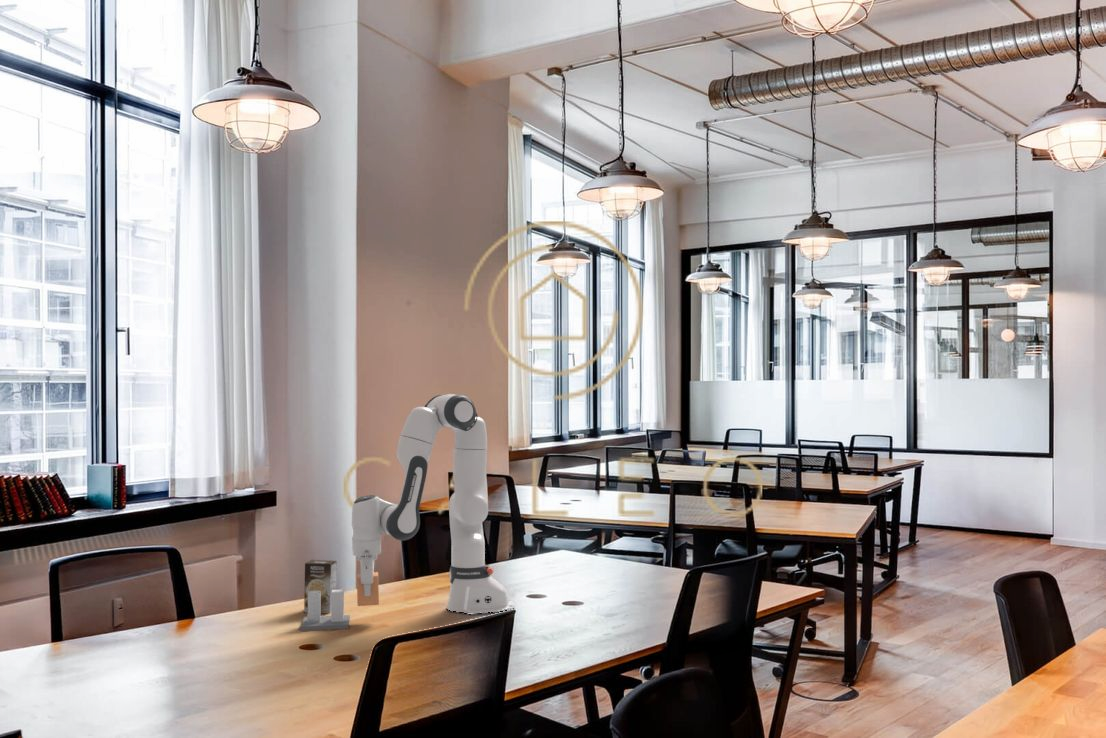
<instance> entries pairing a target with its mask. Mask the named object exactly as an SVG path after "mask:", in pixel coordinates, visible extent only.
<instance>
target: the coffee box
mask: <svg viewBox="0 0 1106 738" xmlns="http://www.w3.org/2000/svg"><path fill="white" fill-rule="evenodd" d="M337 562H338V561H337V560H325V559H323V560H322V559H310V560H308V561H307V562H305V563H304V592H303V593H304V597H303V603H304V604H303V612H304V613H308V592H309V591H316V590H321V614H331V592H332V590H337V567H338V563H337Z"/></svg>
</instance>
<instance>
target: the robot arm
mask: <svg viewBox="0 0 1106 738" xmlns="http://www.w3.org/2000/svg"><path fill="white" fill-rule="evenodd" d="M476 409H477V408H476V407H475V404H474V402H473V401H472V399H470V398H469V397H467V396H465V395H462V394H453V393H447V394H441V395H440V394H439V395H435V396H433V397H431V398H430V399H429V400H428V401H427V403H426V404H425V405H424V406H417V407H414V408H412V410H411V411H410V413H409V414H408V416H407V417H406V420H405V422H404V425H403V427H402V430H401V433H400V436H399V439H398V444H397V449H396V457H397V460H398V461H399V463H400V465H401V467H402V469H403V472H404V480H403V483H402V489H401V492H400V493H401V494H400V497H399V502H398V503H397V504H396V503H393V502H389V501H386V500H385V499H382V498H380V497H379V496H378V495H375V494H369V495H364V496H360V497H358V498H357V499H355V501H353V503H352V510H351V527H352V531H353V533H352V536H351V537H352V538H351V544H352V547H351V549H352V550H351V551H352V552H351V553H352V556H355V557H356V561H359V563H360V566H359V567H360V573H361V584H364V592H365V596H370V595H371V584H372V583H373V572H375V571H374V570H375V562H376V561H375V560H377V559H378V555H380V554H381V553H382V535H384V534H387V536H390V537H392V538H394V539H395V540H398V541H402V542H403V541H408V540H410V539H412V538H413V537H415V535H416V534H417V533H418V531H419V530H420V526H421V516H420V508H421V507H420V506H421V501H422V497H423V491H424V488H425V483H426V479H427V472H428V467H429V462H430V460H431V459H430V458H431V455H432V452H433V449H434V448H433V447H434V445H435V440H436V437H437V435H438V433H439V431H440V430H441V429H442V428H446V429H451V430H452V432H453V436H454V437H453V438H454V441H453V462H452V463H453V464H452V465H453V466H452V473H453V487H454V489H453V490H454V492H453V493H452V494H451V496H450V497H449V501H448V512H449V514H448V515H449V528H450V531H449V532H450V540H451V541H450V543H451V546H450V547H451V548H450V549H451V552H450V553H451V555H450V556H451V559H450V560H451V561H450V562H451V565H449V582H450V588H449V593H448V594H449V595H448V596H449V597H448V601H447V604H446V608H447V609H448V611H449V610H450V612H453V611H456V612H455V613H459V612H464V613H480V612H484V613H483V614H489V613H488V612H490V613H491V612H493V613H500V611H498V610H501V611H503V612H506V611H505V610H509V609H513V608H514V607H515V603H514V601H512V600H510V599H509V598H508V592H507V589H506V588H505V586H504V585H503V584H501V583H500V582H499V581H498V580H496V579H495V578H494V577H493V576H491V575H492V574H493V573H494V569H493V568H492V567H490V566H488V565H487V564H486V561H485V559H486V558H485V557H486V556H485V554H486V552H485V551H486V548H485V547H486V546H485V545H486V543H485V542H486V541H485V536H484V527H483V522H484V521H485V520H486V519H487V517H488V515H489V499H488V498H489V496H488V479H487V461H488V434H487V427H486V422H485V420H484V419H483V418H482V417H480V416H478V413H477V410H476ZM510 607H512V608H510ZM447 609H446V610H447ZM502 609H504V610H502ZM514 609H515V608H514ZM514 609H513V610H514ZM464 613H463V614H464ZM491 614H492V613H491Z"/></svg>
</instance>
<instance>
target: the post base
mask: <svg viewBox="0 0 1106 738" xmlns="http://www.w3.org/2000/svg"><path fill="white" fill-rule="evenodd" d="M344 607H345V589H344V588H343V589H336V590H332V592H331V613H330V615H322V616H321V620H320V622H319V623H308V616H303V619H302V622H301V624H300V631H301V632H304V631H307V632H308V631H323V630H325V631H327V630H346V629H349V626H350V621H351V615H350V614H345V608H344Z"/></svg>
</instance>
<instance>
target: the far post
mask: <svg viewBox="0 0 1106 738" xmlns="http://www.w3.org/2000/svg"><path fill="white" fill-rule="evenodd" d="M321 615H322V613H321V590H316V591H309V592H308V612H307V617H308V623H319V622H320V620H321Z"/></svg>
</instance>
